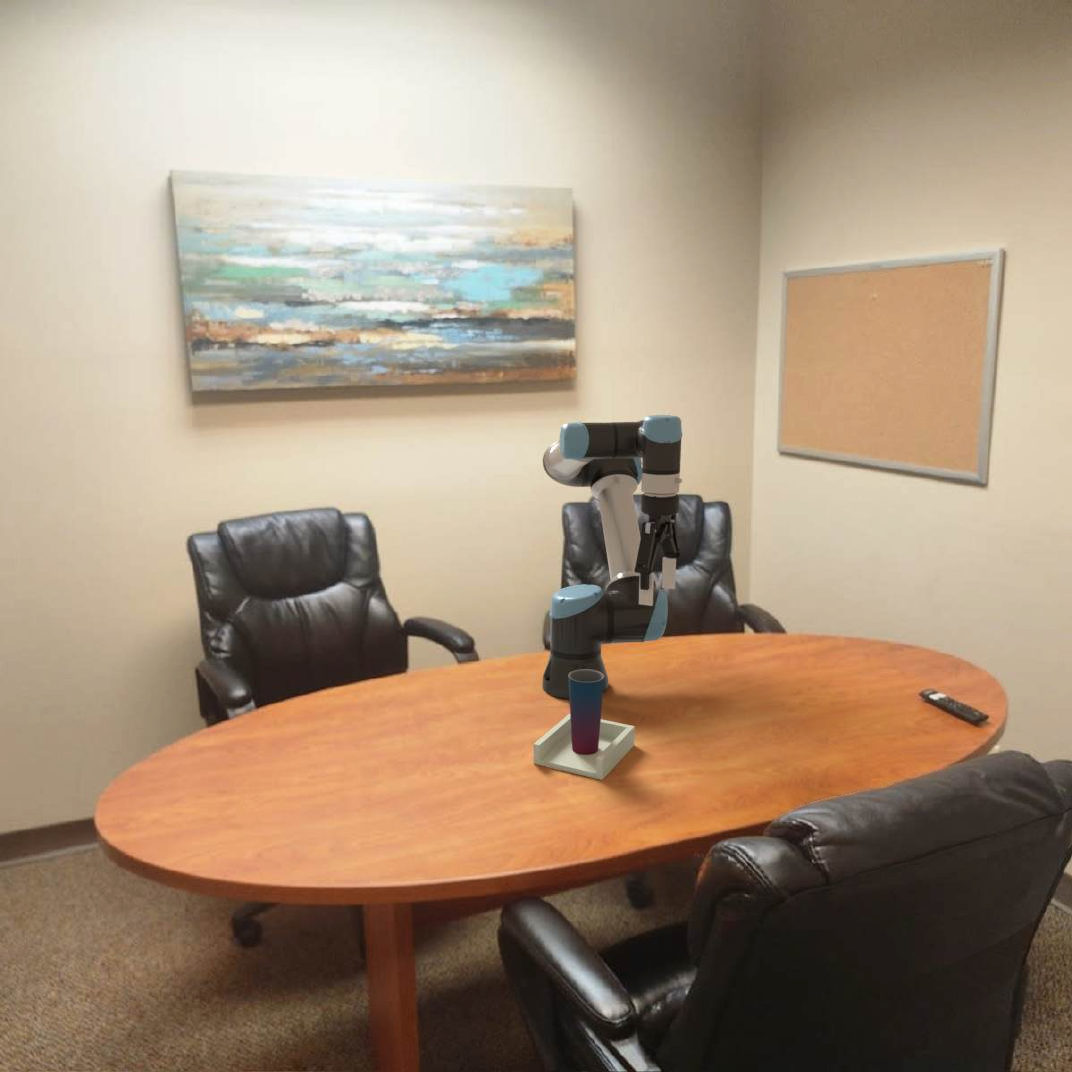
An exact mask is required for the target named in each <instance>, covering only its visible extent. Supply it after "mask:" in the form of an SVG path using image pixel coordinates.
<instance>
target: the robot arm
mask: <svg viewBox="0 0 1072 1072" xmlns="http://www.w3.org/2000/svg"><path fill="white" fill-rule="evenodd" d="M682 438H683V431H682V419H681V418H680V417H679V416H677V415H670V414H667V415H666V414H655V415H653V414H652V415H647V416H645V417H644V419H641V420H637V421H624V422H623V421H622V422H621V421H618V422H617V421H615V422H581V421H577V422H569V423H564V424H562V425H561V427H560V431H559V440H558V441H555V442H553V443H552V444H551V445H549V446H548V448H547V449H545V452H544V454H543V456H542V467H543V469H544V471H545V473H546V474H547V476H548V477H549V478H550V479H551V480H553V481H555V482H556V483H558V484H561V485H563V486H568V487H573V488H576V487H577V488H590V493H591V495H592V496H593V498H595V499H596V500H598V504H599V511H600V517H601V525H602V530H603V538H604V544H605V551H606V558H607V564H608V565H607V566H608V571H609V577H610V581H609V582H608V584H607V585H606V588H605V591H603V589H602V588H601V586H600V585H599V586H598V585H596V584H587V583H586V584H575V585H569V586H566V587H563V588H561V589H559V590H557V591H556V592H554V594H552V597H551V598H550V607H549V608H550V610H549V613H548V614H549V618H550V620H549V621H550V625H549V626H550V630H549V631H550V635H549V636H550V640H549V641H550V643H549V651H550V652H549V653H550V655H549V658H548V661H547V663H546V666H545V668H544V672H543V676H542V689H543V691H544V692H546V693H547V694H548V695H550V696H554V697H557V698H559V699H566V700H567V699H569V680H568V675H569V673H570V672H572V671H575V670H580V669H590V670H596V671H599V672H601V673H603V674H604V686H603V695H604V694H605V693H607V692H608V690H609V677H608V673H607V669H606V667H605V663H604V661H603V660H604V659H603V657H602V645H603V644H621V643H623V644H624V643H645V642H652V641H658V640H661V638H662V637H663V635H664V633H665V630H666V627H667V621H668V611H669V610H668V607H669V606H668V603H669V602H668V596H667V594H666V591H665V590H664V589H668V590H675V589H676V576H677V575H676V574H677V571H676V569H677V559H680V558H681V556H682V555H681V554H682V553H681V547H680V546H681V545H680V540H679V539H680V538H679V531H678V523H677V515H678V513H679V512H680V511H679V510H680V496H679V495H678V493H679V492H680V484H681V483H683V478H681V477H680V476H681V459H682V458H681V457H682ZM638 485H641V489H640V491H641V492H642V495H641V497H640V498H641V500H640V503H641V505H640V512H642V514H644V515H647V516H648V521H646V522H645V521H643V522H642V523H641V531H640V527H639V521H638V520H639V519H638V516H637V510H636V509H637V508H636V505H635V499H634V494H635V492H636V491H637V490H638ZM660 546H661V548H662V551H663V552H662V553H663V555H664V556H663V557H662V565H661V566H662V569H661V571H662V572H661V588H662V589H661V588H659V589H657V586H656V585H657V584H656V581H655V577H654V575H655V574H654V572H653V568H654V565H655V561H656V557H657V554H658V552H659V547H660ZM569 700H570V699H569Z"/></svg>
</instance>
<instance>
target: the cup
mask: <svg viewBox="0 0 1072 1072" xmlns="http://www.w3.org/2000/svg"><path fill="white" fill-rule="evenodd" d="M568 680H569V711H570V712H569V713H570V718H571V736H572V750H573V751H574V752H575V753H577V754H581V755H591V754H594V753H596V752H597V751H598V746H599V734H600V722H601V719H602V710H603V709H602V708H603V695H604V694H603V686H604V674H603V673H601V672H599V671H596V670H590V669H580V670H575V671H572V672H570V673H569V675H568Z"/></svg>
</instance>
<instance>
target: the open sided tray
mask: <svg viewBox="0 0 1072 1072" xmlns="http://www.w3.org/2000/svg"><path fill="white" fill-rule="evenodd" d="M635 729H636V727H635V726H634V725H631V724H625V723H620V722H616V721H611V720H606V719H602V718H601V722H600V734H599V746H598V751H597V752H596V753H594V754H591V755H581V754H577V753H575V752H574V751H573V750H572V736H571V718H570V712H569V713H568V714H567V715H566V716H565V717H563V718H562V719H561V720H560V721H559V722H557V723H556V724H555V725H554V726H553V727H552V728H550V730H548V731H547V732H546V733H545V734H544V735H543V736H541V737H540V738H538V740H536V742H534V743H533V764H534V765H537V766H543V767H546V768H549V769H550V768H551V769H554V770H559V771H561V772H562V771H564V772H567V773H571V774H575V775H579V776H584V777H588V778H592V779H597V780H600V781H603V780H604V779H605V777H606V776H607V775H609V773H610V772H611V771H612V770H614V768H615V767H616V766H617V765H618V763H620V761H621V760H622V759H623V758H624V757H625V756H626V755H627V754H628V752H630V750H631V749H633V747H635V737H636V736H635V733H636V732H635V731H636V730H635Z"/></svg>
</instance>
